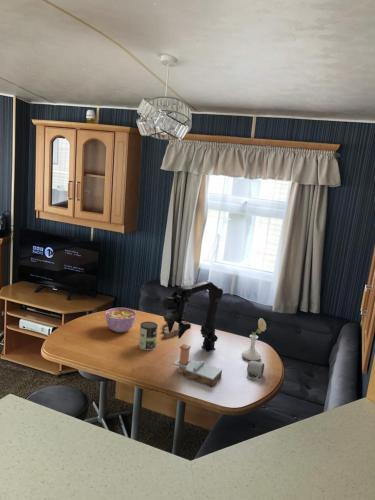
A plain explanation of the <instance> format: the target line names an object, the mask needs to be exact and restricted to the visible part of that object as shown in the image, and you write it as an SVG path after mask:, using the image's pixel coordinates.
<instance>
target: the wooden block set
mask: <svg viewBox="0 0 375 500" xmlns="http://www.w3.org/2000/svg"><path fill="white" fill-rule="evenodd" d="M178 325H179V324H178V323H174V325H173V328H172V330H171V332H169V330H168V323H167V322H166V321H165V327H163V328H162V330H161V331H162V333H163V338H164V340H168V339H170V338H172V337H178V334H179V329H178V327H179V326H178Z"/></svg>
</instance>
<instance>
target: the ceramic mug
mask: <svg viewBox="0 0 375 500" xmlns="http://www.w3.org/2000/svg"><path fill="white" fill-rule="evenodd" d="M246 368H247V369H246V372H247V377H248V379H249V380H251V381H256V380H258V378H262V377H263V376H264V371H265V363H264V362H259V361H257V360H249V361H248V363H247V366H246ZM250 375H252V376H255V377H251V376H250Z"/></svg>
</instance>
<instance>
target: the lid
mask: <svg viewBox="0 0 375 500" xmlns="http://www.w3.org/2000/svg"><path fill="white" fill-rule="evenodd" d="M179 363H180V358H178V359H177V360H176V361H175V362H174V363H173V365H175V366H177V367H179V366H180V367H183V368H185V371H188V372H191V373H194V374H197V375H199V376H202V377H205V378H208V379H211V380H214V379H215V378H216V377H217V375H218V374H219V373H220V372H221V371H222V372H223V369H222V368H218V367H216V366H213V365H210V364H207V363H205V361H204V360H201V361H198V360H196V359H195V360H190V359H189V360H188V365H187V366H185V365H182V364H179Z"/></svg>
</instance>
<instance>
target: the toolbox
mask: <svg viewBox="0 0 375 500" xmlns="http://www.w3.org/2000/svg"><path fill="white" fill-rule="evenodd" d="M222 374H223V370H222V371H221V372H220V373H219V374H218V375H217V377H216V378H215V379H214V380H211V379H208V378H205V377H202V376H199V375H197V374H194V373H191V372H188V371H185V372H184V376H183V377H184V378H186V379H188V380H191V381H194V382H197V383H200V384H202V385H205V386H208V387H210V388H213V387H214V386H215V385H216V384H217V382H219V381H220V379H221V378H222Z"/></svg>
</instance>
